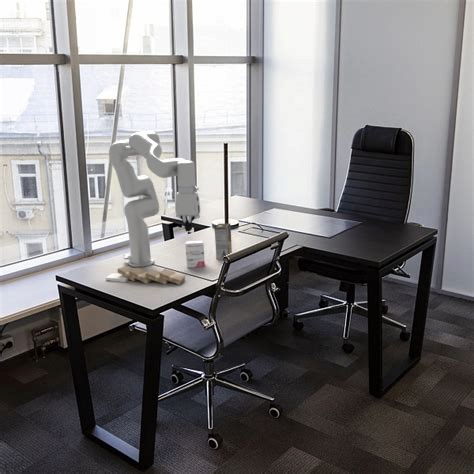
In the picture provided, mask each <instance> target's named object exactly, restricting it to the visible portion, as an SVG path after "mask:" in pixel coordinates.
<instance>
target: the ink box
mask: <svg viewBox="0 0 474 474" xmlns="http://www.w3.org/2000/svg"><path fill="white" fill-rule="evenodd" d="M184 244H185V257H186V258H185V259H186V268H198V267H201V268H202V267H205V265H206V263H205V262H206V261H205V249H204V247H205V245H204V241H203V240H191V241H189V240H188V241H185V243H184Z"/></svg>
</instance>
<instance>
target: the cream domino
mask: <svg viewBox="0 0 474 474" xmlns="http://www.w3.org/2000/svg"><path fill="white" fill-rule="evenodd" d="M107 280H110V282H118V281H119V282H121V283H126V282H128V281H129V280H130V279H128V278H127V277H125V276H123V275H121V274H119V273H113V272H112V273H110V274H109V275H107V276H105V281H107Z"/></svg>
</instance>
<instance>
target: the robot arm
mask: <svg viewBox="0 0 474 474" xmlns="http://www.w3.org/2000/svg"><path fill="white" fill-rule="evenodd" d="M160 141H161V139H160V136H159V134H157V133H156V132H154V131H152V130H145V131H139V132H135V133H132V134H131V135H130V136H129V138H128V139H125V140H118V141H115V142H113V143H112V144H111V145H110V146H109V149H108V157H109V160H110V163H111V165H112V166H113V168H114V171H115V174H116V177H117V180H118V184H119V186H120V189H121V193H122V196H123V197H124V198H127V199H133V198H137V197H138V199H133V200H130V201H128V202H127V203H126V204H125V205H124V209H123V211H124V215H125V219H126V223H127V229H128V230H127V232H128V238H129V251H130V254H124V255H123V259H124V260H128V262H127V263H128V266H129V267H131V268H136V267H138V268H143V267H144V268H145V267H148V266H149V267H150V266H151V265H153V264H155V259H154V258H152V256H151V244H150V234H149V226H148V224H147V223H146V221H145V220H144V219H147V218H151V217H154V216H156V215H158V214H159V212H160V202H159V199H158V196H157V192H156V188H155V185H154V183H153V181H152V179H151V178H150V177H149V176H148V175H139V176H137V174H136V172H135V168H134V166H133V165H132V164H131V163H130V161H128V160H127V159H131V158H137V157H138V158H139V157H143V158H144V159H146V160H145V161H146V164H147V165H146V166H147V167H148V170H150V172H151V173H153V174H154V175H155V176H156V177H159V178H161V179H166V178H168V179H169V178H172V177H177V192H176V196H175V218H178V219H181V220H182V222H183V225H184V230H185V232H191V231H192V229H193V221H194V220H196V219H199V218H201V215H200V214H201V204H200V197H199V196H200V195H199V193H198V191H199V190H200V189H199V187H197V185H196V171H195V170H196V169H195V165H196V164H195V162H194V161H193V160H187V159H184V158H181V157H175V158H169V159H163V160H162V159H160V157H161V155H162V152H163V149H162V146H161V145H160ZM139 197H141V198H139Z"/></svg>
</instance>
